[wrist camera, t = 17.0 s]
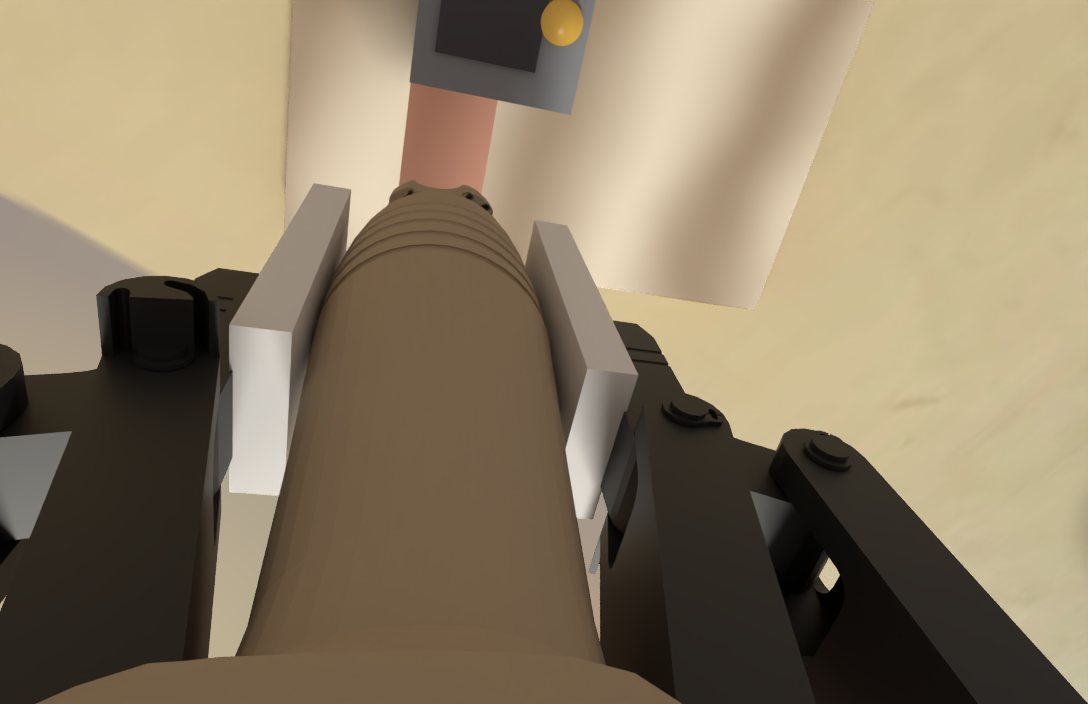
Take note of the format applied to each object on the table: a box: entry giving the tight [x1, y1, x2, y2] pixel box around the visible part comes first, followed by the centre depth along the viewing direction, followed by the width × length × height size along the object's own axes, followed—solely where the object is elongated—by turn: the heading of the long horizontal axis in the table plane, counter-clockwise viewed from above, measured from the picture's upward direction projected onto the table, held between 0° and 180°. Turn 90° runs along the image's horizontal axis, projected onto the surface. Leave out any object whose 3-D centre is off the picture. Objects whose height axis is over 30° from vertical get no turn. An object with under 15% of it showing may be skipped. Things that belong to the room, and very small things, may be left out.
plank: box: [284, 0, 874, 311], centre depth 21 cm, size 16×10×2 cm, turn 78°
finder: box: [409, 0, 596, 115], centre depth 17 cm, size 4×4×3 cm
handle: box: [36, 180, 682, 704], centre depth 10 cm, size 5×6×15 cm
